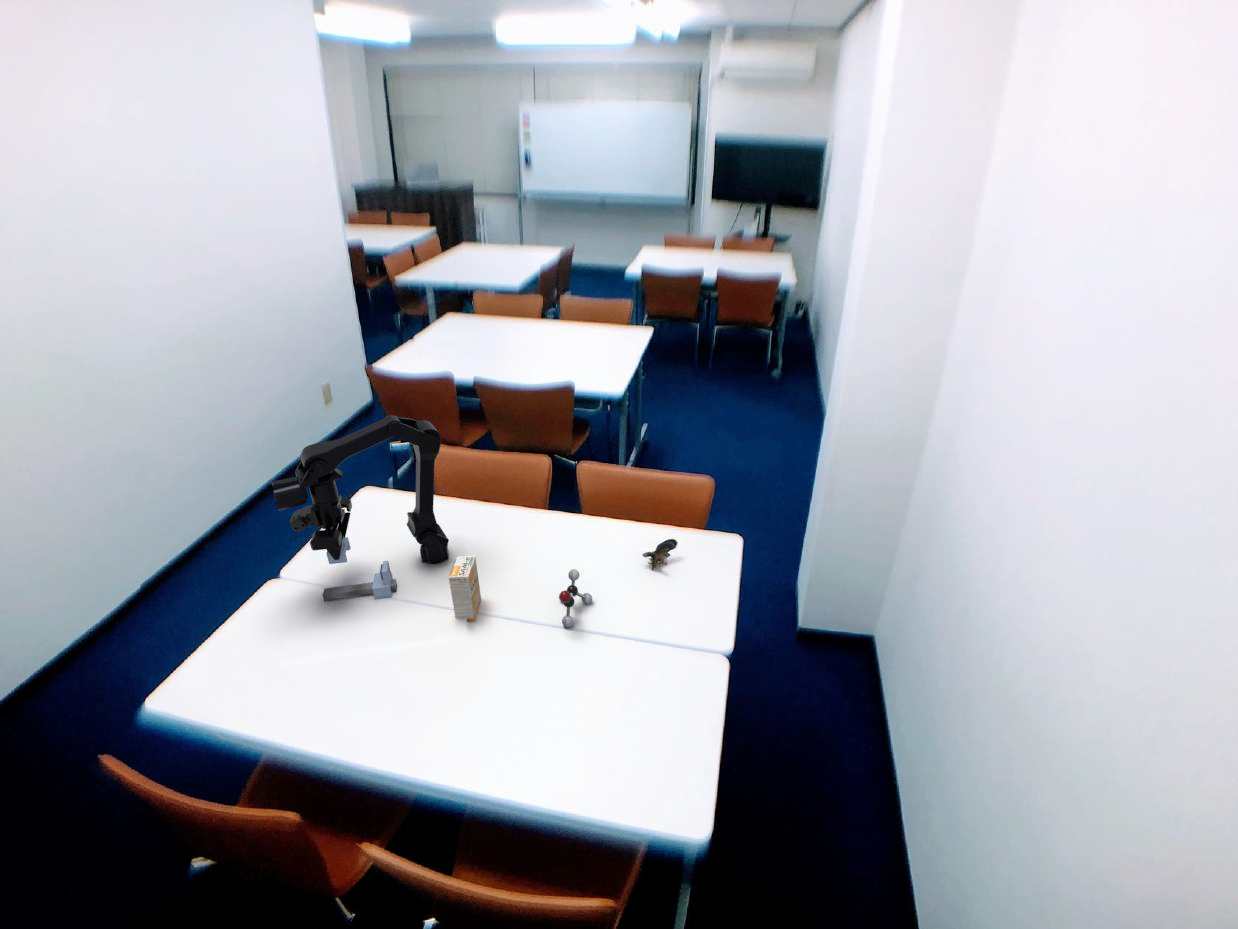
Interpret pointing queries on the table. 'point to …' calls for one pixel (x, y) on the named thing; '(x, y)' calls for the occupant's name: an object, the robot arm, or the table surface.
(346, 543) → the notched blue block
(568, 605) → the molecular model
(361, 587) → the rail board
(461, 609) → the supplement box
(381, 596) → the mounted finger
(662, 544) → the grey brown irregular piece
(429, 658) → the table surface
